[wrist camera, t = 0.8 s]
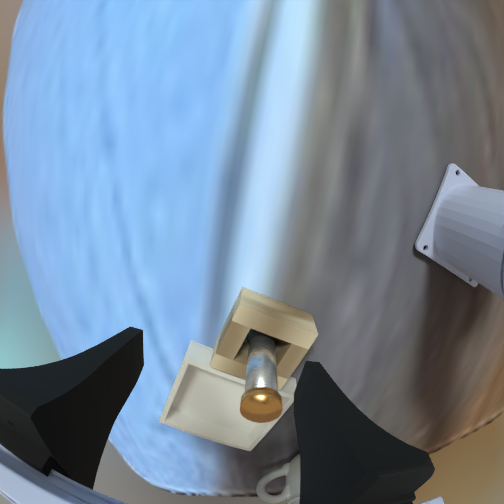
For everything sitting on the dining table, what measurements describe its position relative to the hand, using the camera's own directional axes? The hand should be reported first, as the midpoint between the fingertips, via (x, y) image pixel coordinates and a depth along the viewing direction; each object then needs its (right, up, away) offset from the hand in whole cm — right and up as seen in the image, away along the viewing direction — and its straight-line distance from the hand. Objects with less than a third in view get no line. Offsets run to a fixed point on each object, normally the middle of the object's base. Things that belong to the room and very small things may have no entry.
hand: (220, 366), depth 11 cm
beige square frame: (+2, -2, +11) cm, 11 cm away
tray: (-1, -9, +13) cm, 16 cm away
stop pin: (+2, -2, +11) cm, 11 cm away
